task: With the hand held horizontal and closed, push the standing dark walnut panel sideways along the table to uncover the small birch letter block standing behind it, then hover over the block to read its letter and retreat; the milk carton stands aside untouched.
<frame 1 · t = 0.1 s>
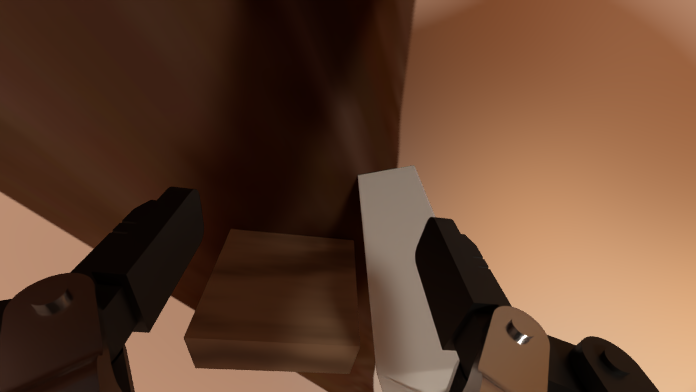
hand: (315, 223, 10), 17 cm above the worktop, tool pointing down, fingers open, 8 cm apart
walnut panel: (292, 250, 37), on the worktop
milk: (388, 191, 31), on the worktop
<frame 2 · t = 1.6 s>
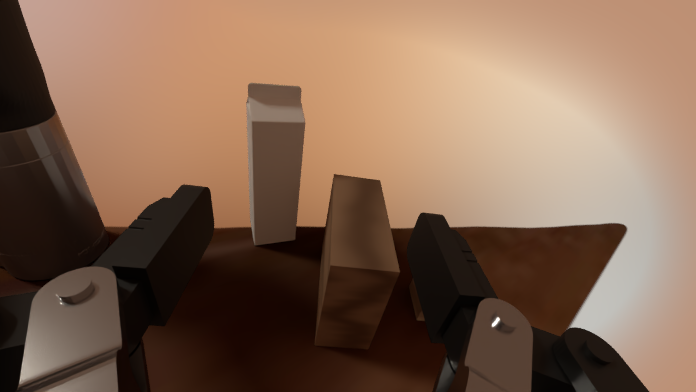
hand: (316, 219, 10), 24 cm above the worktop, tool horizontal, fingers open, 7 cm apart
walnut panel: (341, 290, 37), on the worktop
milk: (272, 230, 44), on the worktop
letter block: (430, 304, 38), on the worktop
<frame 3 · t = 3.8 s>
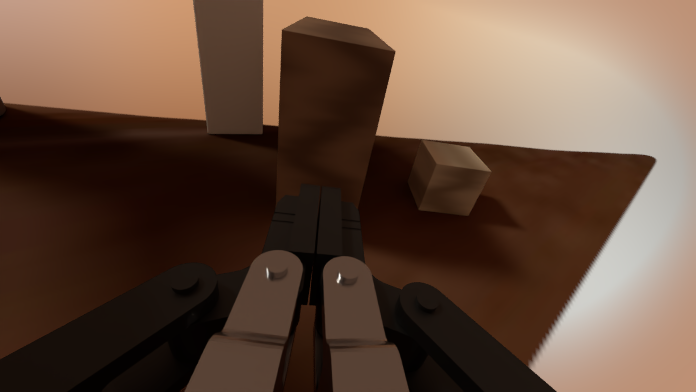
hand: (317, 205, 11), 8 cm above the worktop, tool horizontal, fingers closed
walnut panel: (319, 178, 28), on the worktop
milk: (234, 126, 35), on the worktop
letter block: (435, 198, 29), on the worktop
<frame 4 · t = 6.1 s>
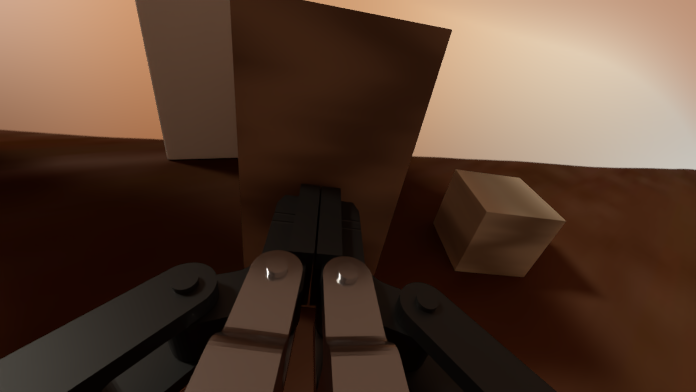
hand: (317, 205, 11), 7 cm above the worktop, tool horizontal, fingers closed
walnut panel: (314, 217, 21), on the worktop, touching gripper
milk: (206, 146, 27), on the worktop
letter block: (474, 248, 21), on the worktop
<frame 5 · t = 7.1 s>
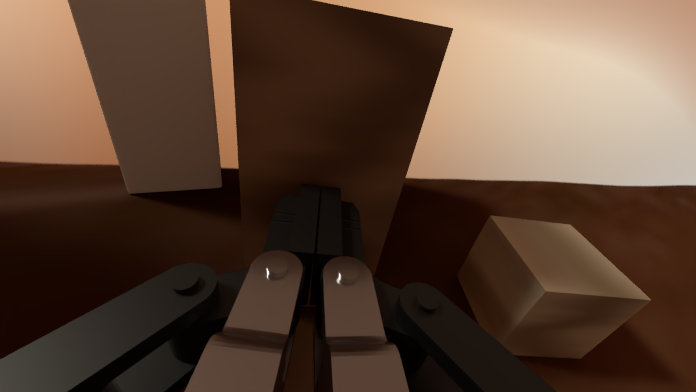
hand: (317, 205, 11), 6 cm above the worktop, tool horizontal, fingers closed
walnut panel: (315, 216, 21), on the worktop, touching gripper
milk: (180, 173, 23), on the worktop
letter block: (511, 313, 17), on the worktop
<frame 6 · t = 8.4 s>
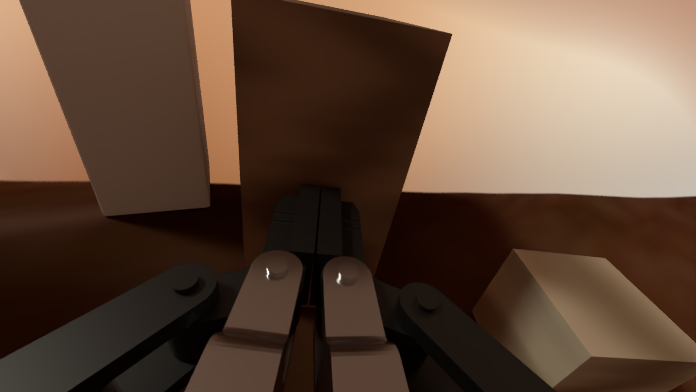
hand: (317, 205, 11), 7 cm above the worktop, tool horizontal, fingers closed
walnut panel: (315, 217, 21), on the worktop, touching gripper
milk: (165, 190, 21), on the worktop
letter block: (536, 358, 14), on the worktop
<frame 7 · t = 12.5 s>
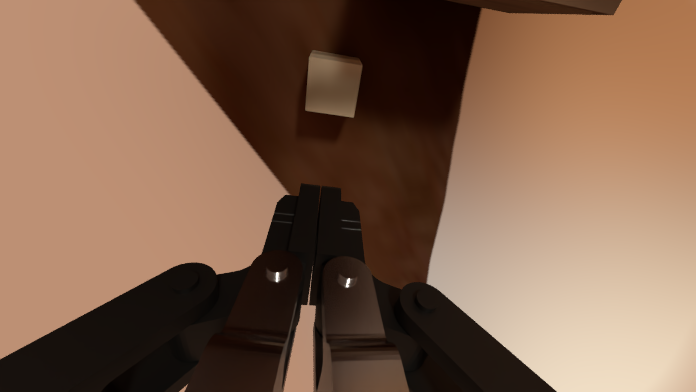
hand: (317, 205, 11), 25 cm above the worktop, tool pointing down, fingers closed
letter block: (333, 78, 32), on the worktop
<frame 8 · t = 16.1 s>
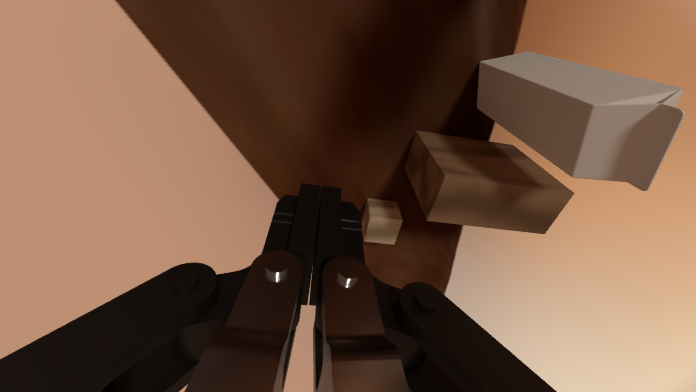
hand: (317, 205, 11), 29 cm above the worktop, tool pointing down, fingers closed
walnut panel: (457, 156, 43), on the worktop
milk: (500, 80, 37), on the worktop
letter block: (378, 211, 48), on the worktop
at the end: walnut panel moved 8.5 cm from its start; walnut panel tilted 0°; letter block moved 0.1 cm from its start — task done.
